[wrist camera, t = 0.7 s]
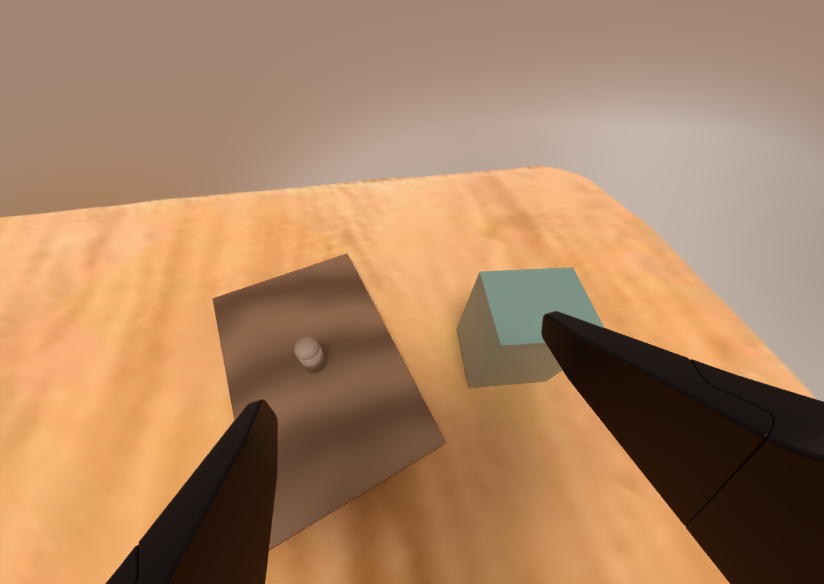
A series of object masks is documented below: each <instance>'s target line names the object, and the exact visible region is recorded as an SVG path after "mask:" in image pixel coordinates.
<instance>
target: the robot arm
mask: <svg viewBox="0 0 824 584" xmlns="http://www.w3.org/2000/svg"><path fill="white" fill-rule="evenodd" d="M541 334H542V338H543V340H544V342H545V343H546V345H547V346H548V348H549V350H550V351H551V353H552V354H553V356H554V357H555V359H556V361H557V362H558V364H559V365H560V367H561V368H562V370H563V372H564V373H565V375H566V376H567V378H568V379H569V380H570V382H571V383H572V384H573V386H574V387H575V388H576V389H577V391H578V392H579V393H580V394H581V396H582V397H583V398H584V399H585V401H586V402H587V403H588V405H589V406H590V407H591V408H592V410H593V411H594V412H595V413H596V415H597V416H598V417H599V418H600V420H601V421H602V422H603V423H604V425H605V426H606V427H607V429H608V430H609V431H610V432H611V434H612V435H613V436H614V437H615V439H616V440H617V441H618V442H619V444H620V445H621V446H622V447H623V449H624V450H625V451H626V452H627V454H628V455H629V456H630V458H631V459H632V460H633V461H634V463H635V464H636V465H637V466H638V468H639V469H640V470H641V471H642V473H643V474H644V475H645V476H646V478H647V479H648V480H649V482H650V483H651V484H652V485H653V487H654V488H655V489H656V490H657V492H658V493H659V494H660V495H661V497H662V498H663V499H664V500H665V502H666V503H667V504H668V506H669V507H670V508H671V509H672V511H673V512H674V513H675V514H676V516H677V517H678V518H679V519H680V521H681V522H682V523H683V524H684V525H685V526H686V529H687V530H688V531H689V532H690V534H691V535H692V536H693V537H694V539H695V540H696V541H697V543H698V544H699V545H700V546H701V548H702V549H703V550H704V551H705V553H706V554H707V555H708V556H709V558H710V559H711V560H712V561H713V563H714V564H715V565H716V566H717V568H718V569H719V570H720V572H721V573H722V574H723V575H724V577H725V578H726V579H727V580H728V582H729V583H730V584H824V402H823V401H820V400H816V399H813V398H810V397H806V396H803V395H800V394H796V393H793V392H790V391H787V390H783V389H780V388H777V387H773V386H770V385H767V384H764V383H761V382H757V381H754V380H751V379H748V378H745V377H742V376H738V375H735V374H732V373H730V372H727V371H724V370H721V369H718V368H715V367H712V366H709V365H706V364H704V363H701V362H698V361H695V360H692V359H690V360H689V359H688V358H687V357H684V356H681V355H678V354H676V353H673V352H670V351H667V350H664V349H662V348H659V347H656V346H653V345H651V344H648V343H645V342H642V341H639V340H637V339H634V338H631V337H628V336H625V335H623V334H620V333H617V332H614V331H612V330H609V329H606V328H603V327H600V326H598V325H595V324H592V323H589V322H586V321H584V320H581V319H578V318H575V317H573V316H570V315H567V314H564V313H561V312H559V311H553V312H550V313H546V314H544V316H543V320H542V330H541ZM277 470H278V420H277V416H276V414H275V413H274V411H273V410H272V408H271V407H270V406H269V404H268V403H267V402H266V401H265V400H264V399H260V400H257V401H254V402H250V403H249V404H247V406H246V407H245V408H244V409H243V411H242V412H241V413H240V414H239V416H238V417H237V418H236V419H235V421H234V422H233V423H232V424H231V426H230V427H229V428H228V430H227V431H226V432H225V433H224V435H223V436H222V437H221V438H220V440H219V441H218V442H217V444H216V445H215V446H214V447H213V449H212V450H211V451H210V452H209V454H208V455H207V456H206V457H205V459H204V460H203V461H202V463H201V464H200V465H199V466H198V468H197V469H196V470H195V471H194V473H193V474H192V475H191V477H190V478H189V479H188V480H187V482H186V483H185V484H184V485H183V487H182V488H181V489H180V490H179V492H178V493H177V494H176V496H175V497H174V498H173V499H172V501H171V502H170V503H169V504H168V506H167V507H166V508H165V509H164V511H163V512H162V513H161V515H160V516H159V517H158V518H157V520H156V521H155V522H154V523H153V525H152V526H151V527H150V529H149V530H148V531H147V532H146V534H145V535H144V536H143V537H142V539H141V540H140V541H139V545H137V546H135V547H134V549H133V550H132V551H131V552H130V554H129V555H128V556H127V558H126V559H125V560H124V561H123V563H122V564H121V565H120V566H119V568H118V569H117V570H116V571H115V573H114V574H113V575H112V576H111V578H110V579H109V580H108V581H107V582H106V584H265V580H266V571H267V562H268V553H269V545H270V536H271V527H272V518H273V510H274V501H275V492H276V483H277Z"/></svg>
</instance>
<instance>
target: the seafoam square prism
mask: <svg viewBox="0 0 824 584" xmlns="http://www.w3.org/2000/svg"><path fill="white" fill-rule="evenodd" d="M553 311H559V312H561V313H564V314H567V315H570V316H573V317H575V318H578V319H581V320H584V321H586V322H589V323H592V324H595V325H598V326H600V327H603V328H604V326H603V325H602V323H601V321H600V319H599V317H598V315H597V313H596V311H595V309H594V307H593V305H592V303H591V301H590V299H589V298H588V296H587V294H586V292H585V290H584V288H583V286H582V284H581V282H580V280H579V278H578V276H577V274H576V272H575V270H574V269H573V267H571V268H549V269H527V270H506V271H484V272H479V275H478V277H477V280H476V282H475V285H474V287H473V290H472V292H471V295H470V297H469V300H468V302H467V304H466V307H465V309H464V312H463V314H462V317H461V319H460V322H459V324H458V327H457V334H458V339H459V344H460V349H461V354H462V359H463V364H464V368H465V373H466V378H467V383H468V388H475V387H486V386H498V385H510V384H521V383H533V382H544V381H547V380H549V379H550V378H552V377H553V376H554V375H556V374H557V373H559V372H560V371H562V368H561V367H560V365H559V364H558V362H557V361H556V359H555V357H554V356H553V354H552V353H551V351H550V350H549V348H548V346H547V345H546V343H545V342H544V340H543V338H542V334H541V330H542V320H543V316H544V314H546V313H550V312H553Z"/></svg>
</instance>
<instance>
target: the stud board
mask: <svg viewBox="0 0 824 584" xmlns="http://www.w3.org/2000/svg"><path fill="white" fill-rule="evenodd" d="M213 304H214V309H215V315H216V320H217V326H218V331H219V337H220V342H221V348H222V354H223V359H224V365H225V370H226V376H227V381H228V387H229V393H230V398H231V404H232V409H233V415H234V420H235V419H236V418H237V417H238V416H239V414H240V413H241V412H242V411H243V409H244V408H245V407H246V406H247V404H249V403H250V402H254V401H257V400H260V399H264V400H265V401H266V402H267V403H268V404H269V406H270V407H271V408H272V410H273V411H274V413H275V414H276V416H277V420H278V470H277V483H276V492H275V501H274V510H273V518H272V527H271V536H270V545H269V550H271V549H272V548H274V547H276V546H277V545H279V544H281V543H282V542H284V541H286V540H287V539H289V538H290V537H292V536H294V535H295V534H297V533H299V532H300V531H302V530H304V529H305V528H307V527H309V526H310V525H312V524H314V523H315V522H317V521H319V520H320V519H322V518H323V517H325V516H327V515H328V514H330V513H332V512H333V511H335V510H337V509H338V508H340V507H342V506H343V505H345V504H347V503H348V502H350V501H352V500H353V499H355V498H356V497H358V496H360V495H361V494H363V493H365V492H366V491H368V490H370V489H371V488H373V487H375V486H376V485H378V484H380V483H381V482H383V481H385V480H386V479H388V478H389V477H391V476H393V475H394V474H396V473H398V472H399V471H401V470H403V469H404V468H406V467H408V466H409V465H411V464H413V463H414V462H416V461H418V460H419V459H421V458H423V457H424V456H426V455H427V454H429V453H431V452H432V451H434V450H436V449H437V448H439V447H441V446H442V445H444V444H445V443H446V442H445V440H444V438H443V436H442V434H441V432H440V430H439V429H438V427H437V425H436V423H435V421H434V419H433V417H432V415H431V413H430V411H429V409H428V407H427V406H426V404H425V402H424V400H423V398H422V396H421V394H420V392H419V390H418V388H417V386H416V384H415V382H414V381H413V379H412V377H411V375H410V373H409V371H408V369H407V367H406V365H405V363H404V361H403V359H402V358H401V356H400V354H399V352H398V350H397V348H396V346H395V344H394V342H393V340H392V338H391V336H390V334H389V333H388V331H387V329H386V327H385V325H384V323H383V321H382V319H381V317H380V315H379V313H378V311H377V310H376V308H375V306H374V304H373V302H372V300H371V298H370V296H369V294H368V292H367V290H366V288H365V286H364V285H363V283H362V281H361V279H360V277H359V275H358V273H357V271H356V269H355V267H354V265H353V263H352V262H351V260H350V258H349V256H348V254H344V255H341V256H338V257H335V258H332V259H329V260H326V261H323V262H320V263H317V264H314V265H311V266H308V267H305V268H302V269H299V270H296V271H293V272H290V273H287V274H284V275H281V276H278V277H275V278H272V279H269V280H266V281H263V282H261V283H258V284H255V285H252V286H249V287H246V288H243V289H240V290H237V291H234V292H231V293H228V294H225V295H222V296H219V297H216V298H213Z"/></svg>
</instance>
